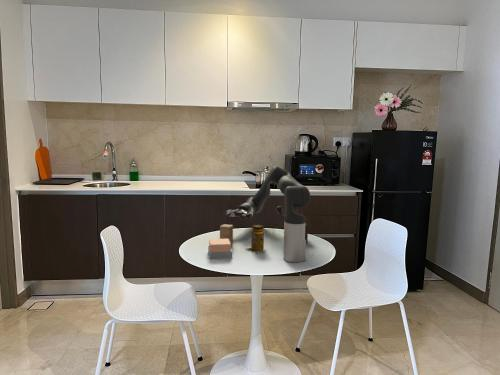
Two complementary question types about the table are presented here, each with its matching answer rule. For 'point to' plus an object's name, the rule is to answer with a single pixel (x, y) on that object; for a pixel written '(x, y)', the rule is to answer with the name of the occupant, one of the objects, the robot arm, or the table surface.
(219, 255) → the tower bottom
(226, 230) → the tall block
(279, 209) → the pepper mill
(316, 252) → the table surface
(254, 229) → the condiment
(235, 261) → the table surface
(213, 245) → the tower top
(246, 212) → the robot arm
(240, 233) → the table surface
